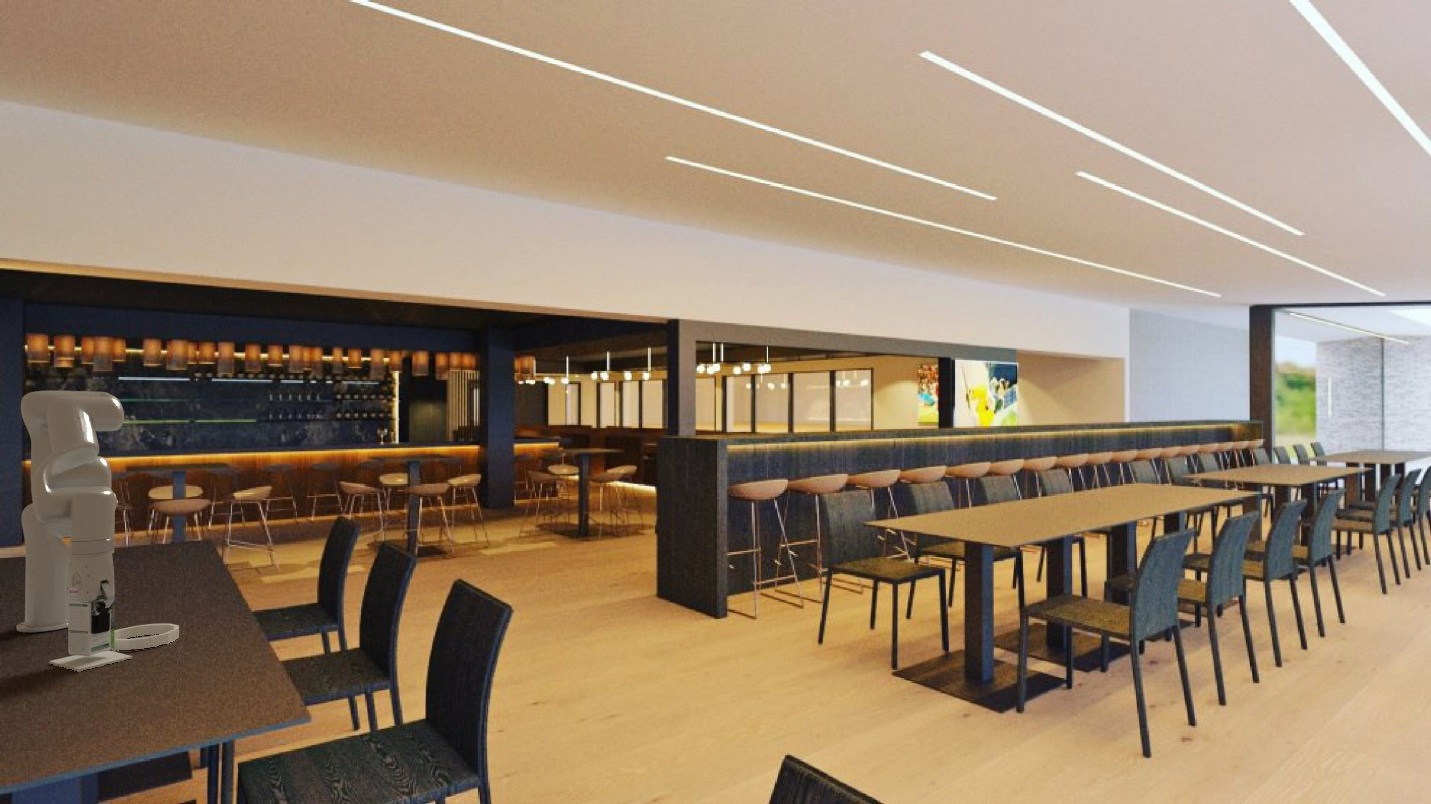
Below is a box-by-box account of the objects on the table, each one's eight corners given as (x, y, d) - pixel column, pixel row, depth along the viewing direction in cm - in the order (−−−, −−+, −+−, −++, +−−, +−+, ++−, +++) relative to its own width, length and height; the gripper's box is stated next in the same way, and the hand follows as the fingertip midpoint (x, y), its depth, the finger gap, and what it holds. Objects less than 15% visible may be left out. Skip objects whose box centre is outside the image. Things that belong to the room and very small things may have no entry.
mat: (49, 663, 168) (49, 661, 168) (103, 651, 177) (103, 648, 177) (78, 672, 163) (78, 669, 163) (132, 659, 172) (132, 656, 172)
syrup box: (89, 656, 167) (90, 587, 167) (66, 654, 168) (67, 586, 168) (114, 648, 172) (115, 582, 173) (92, 647, 174) (93, 580, 174)
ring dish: (91, 646, 181) (92, 635, 181) (158, 631, 194) (158, 621, 194) (125, 654, 175) (125, 643, 175) (191, 638, 187) (191, 628, 187)
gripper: (51, 546, 171) (50, 629, 171) (93, 553, 163) (92, 640, 163) (91, 541, 178) (90, 621, 178) (133, 548, 170) (132, 631, 170)
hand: (91, 629), depth 170 cm, fingers closed on syrup box, 6 cm apart
